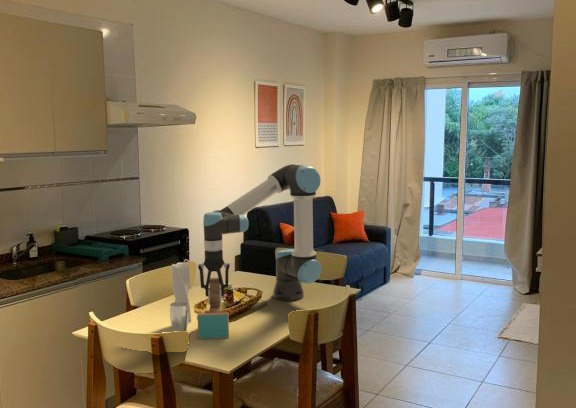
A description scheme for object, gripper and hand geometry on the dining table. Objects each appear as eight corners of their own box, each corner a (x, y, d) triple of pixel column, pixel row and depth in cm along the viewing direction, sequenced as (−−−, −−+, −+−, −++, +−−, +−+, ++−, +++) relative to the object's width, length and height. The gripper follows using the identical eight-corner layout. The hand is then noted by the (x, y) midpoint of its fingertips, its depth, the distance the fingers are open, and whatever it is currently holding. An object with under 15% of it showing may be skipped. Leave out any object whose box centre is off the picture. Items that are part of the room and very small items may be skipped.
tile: (229, 336, 224) (228, 312, 223) (228, 338, 222) (228, 314, 221) (198, 337, 224) (197, 313, 222) (198, 339, 221) (197, 315, 220)
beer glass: (167, 340, 220) (165, 304, 218) (182, 336, 225) (181, 300, 223) (177, 345, 215) (175, 308, 213) (192, 340, 220) (191, 303, 218)
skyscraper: (195, 321, 242) (192, 257, 237) (188, 327, 234) (185, 262, 230) (178, 320, 243) (175, 257, 239) (171, 326, 236) (168, 261, 232)
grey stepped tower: (207, 305, 239) (206, 278, 238) (223, 305, 240) (223, 277, 238) (204, 318, 224) (203, 289, 222) (221, 318, 224) (220, 288, 222)
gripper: (191, 252, 230) (194, 307, 233) (233, 251, 231) (235, 305, 234) (193, 248, 237) (195, 301, 241) (234, 247, 238) (235, 300, 242)
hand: (215, 303), depth 237 cm, fingers closed on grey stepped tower, 4 cm apart
